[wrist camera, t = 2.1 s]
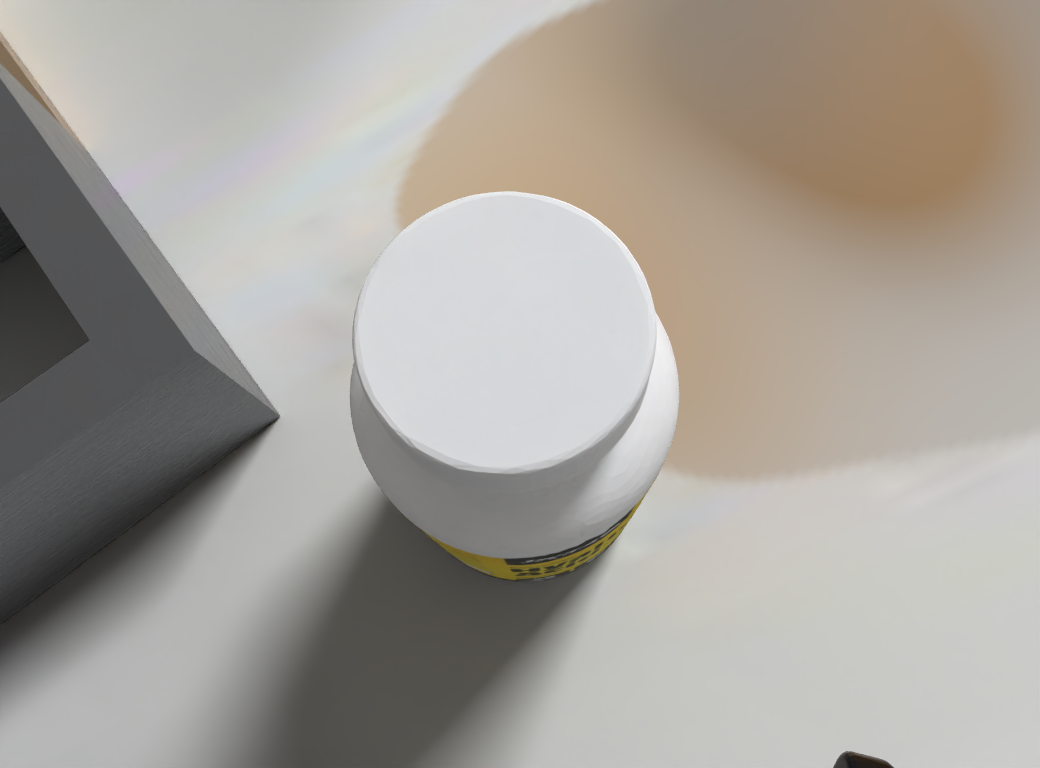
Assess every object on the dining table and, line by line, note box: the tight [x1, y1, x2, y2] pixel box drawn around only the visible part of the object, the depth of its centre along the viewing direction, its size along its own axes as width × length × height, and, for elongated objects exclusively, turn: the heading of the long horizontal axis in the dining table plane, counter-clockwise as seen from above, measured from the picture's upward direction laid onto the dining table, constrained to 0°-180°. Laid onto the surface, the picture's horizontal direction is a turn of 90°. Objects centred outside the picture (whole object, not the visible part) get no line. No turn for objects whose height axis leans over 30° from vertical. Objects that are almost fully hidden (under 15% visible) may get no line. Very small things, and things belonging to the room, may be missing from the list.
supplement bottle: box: [350, 191, 679, 581], centre depth 15 cm, size 5×5×10 cm
